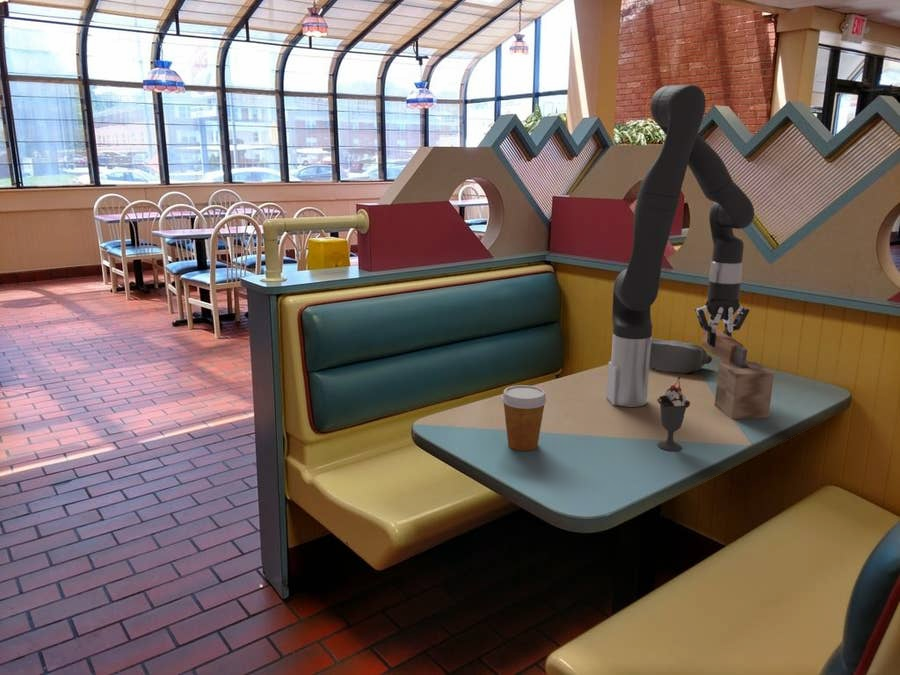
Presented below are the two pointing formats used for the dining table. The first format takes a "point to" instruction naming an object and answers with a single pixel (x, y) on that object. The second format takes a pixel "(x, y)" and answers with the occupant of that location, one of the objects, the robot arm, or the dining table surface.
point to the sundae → (672, 415)
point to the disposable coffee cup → (523, 415)
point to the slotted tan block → (744, 390)
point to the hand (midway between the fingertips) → (718, 345)
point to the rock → (677, 356)
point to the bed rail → (726, 348)
